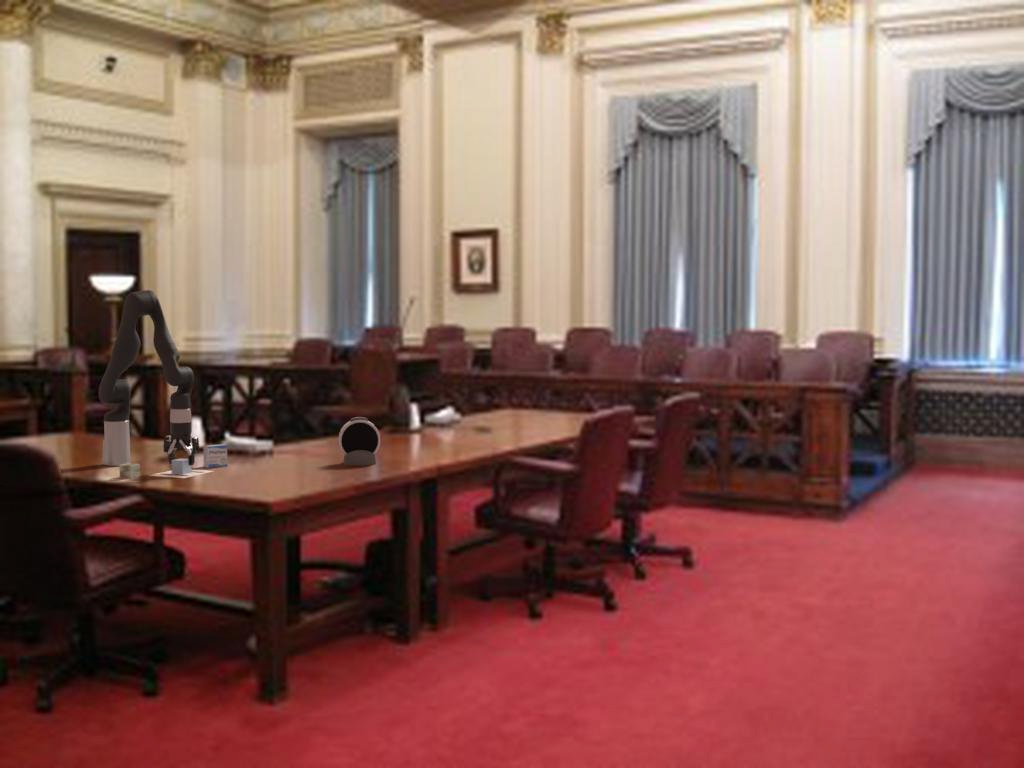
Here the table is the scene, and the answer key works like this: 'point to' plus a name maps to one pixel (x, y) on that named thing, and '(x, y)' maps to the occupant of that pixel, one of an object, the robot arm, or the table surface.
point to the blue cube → (180, 466)
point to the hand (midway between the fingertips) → (181, 464)
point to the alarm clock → (359, 442)
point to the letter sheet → (169, 474)
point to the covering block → (129, 470)
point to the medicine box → (215, 456)
